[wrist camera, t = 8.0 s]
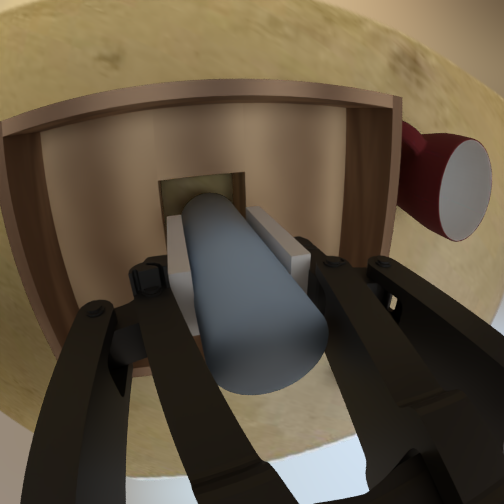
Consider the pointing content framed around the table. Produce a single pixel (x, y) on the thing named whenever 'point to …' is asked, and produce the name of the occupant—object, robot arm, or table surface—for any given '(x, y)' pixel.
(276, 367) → the peg
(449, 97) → the table surface
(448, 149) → the mug
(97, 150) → the tray box
